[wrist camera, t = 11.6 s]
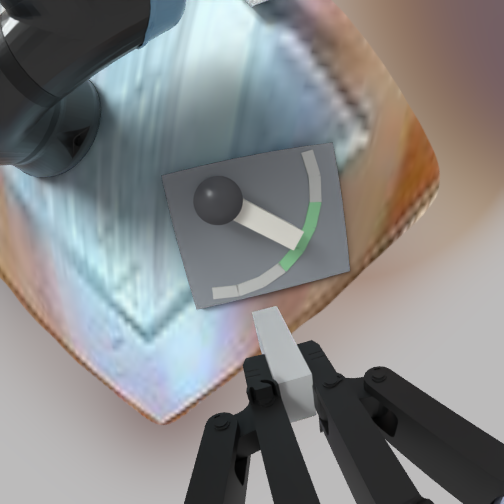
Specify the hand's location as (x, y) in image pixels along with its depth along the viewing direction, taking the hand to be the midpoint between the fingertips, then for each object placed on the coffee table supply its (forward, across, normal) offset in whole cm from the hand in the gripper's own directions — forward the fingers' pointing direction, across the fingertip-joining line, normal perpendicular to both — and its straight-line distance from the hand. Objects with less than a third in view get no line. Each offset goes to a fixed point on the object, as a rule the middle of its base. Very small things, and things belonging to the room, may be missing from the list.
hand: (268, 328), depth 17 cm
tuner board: (+22, +4, +2) cm, 23 cm away
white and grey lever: (+21, +2, +4) cm, 21 cm away
